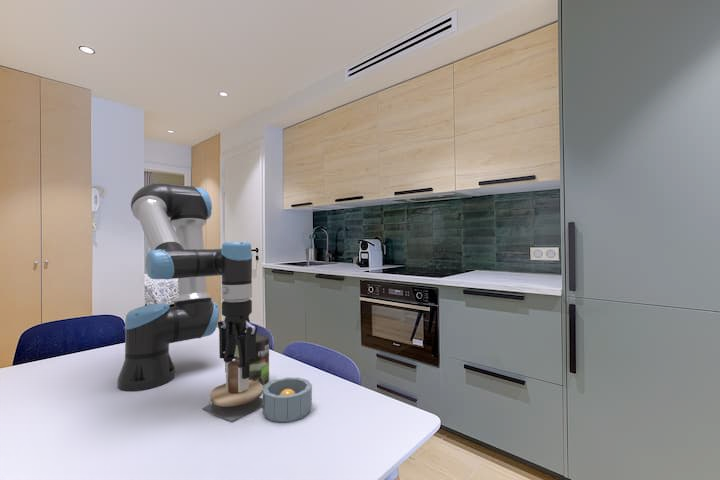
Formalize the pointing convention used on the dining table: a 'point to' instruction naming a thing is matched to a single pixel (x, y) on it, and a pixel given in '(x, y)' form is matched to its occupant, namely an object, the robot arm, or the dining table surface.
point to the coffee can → (259, 360)
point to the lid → (235, 390)
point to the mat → (234, 410)
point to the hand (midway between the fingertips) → (237, 387)
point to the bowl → (287, 399)
